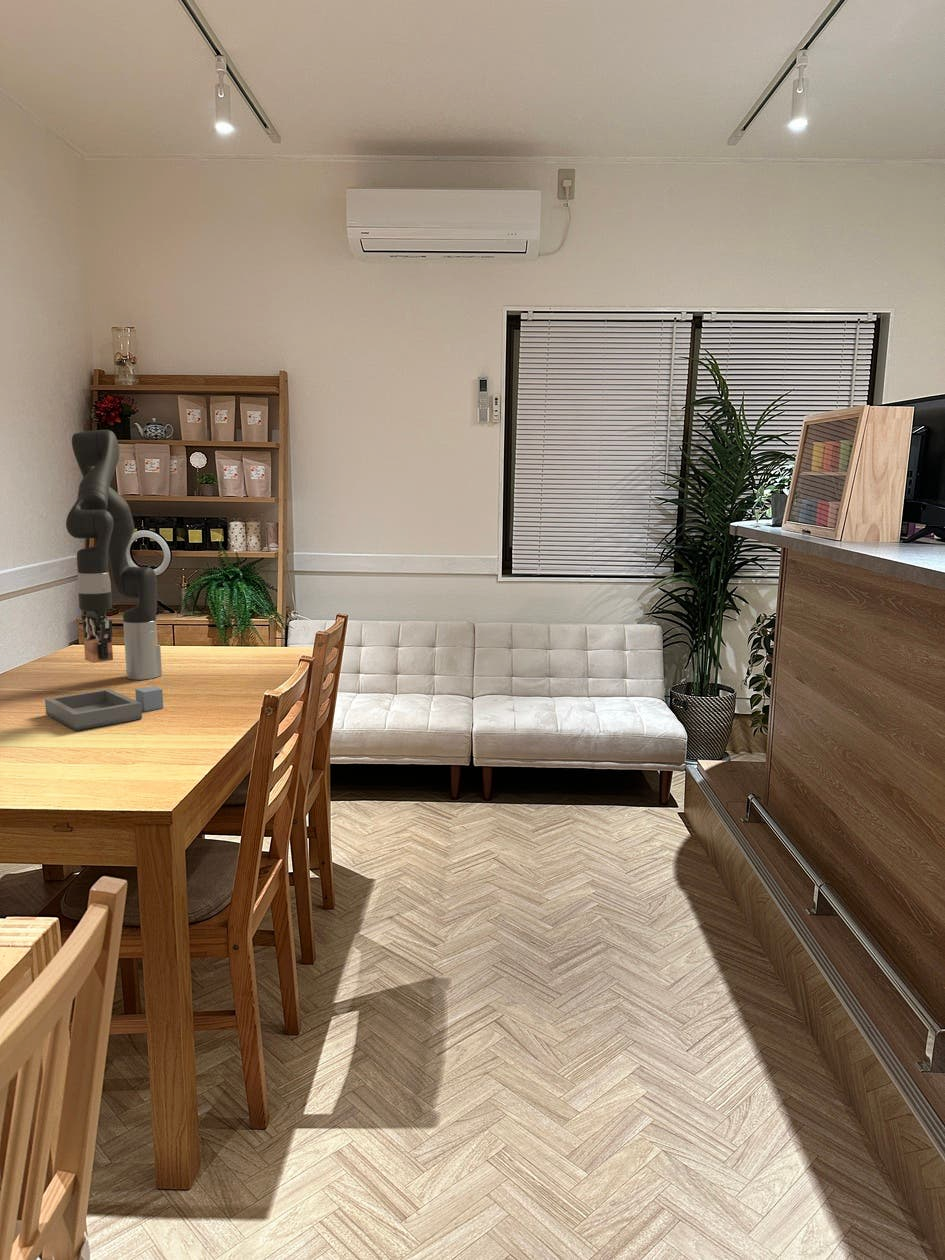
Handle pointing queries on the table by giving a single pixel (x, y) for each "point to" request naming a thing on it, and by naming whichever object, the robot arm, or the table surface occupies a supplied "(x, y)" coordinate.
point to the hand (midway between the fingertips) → (98, 657)
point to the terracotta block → (95, 651)
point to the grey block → (149, 698)
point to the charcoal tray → (93, 709)
